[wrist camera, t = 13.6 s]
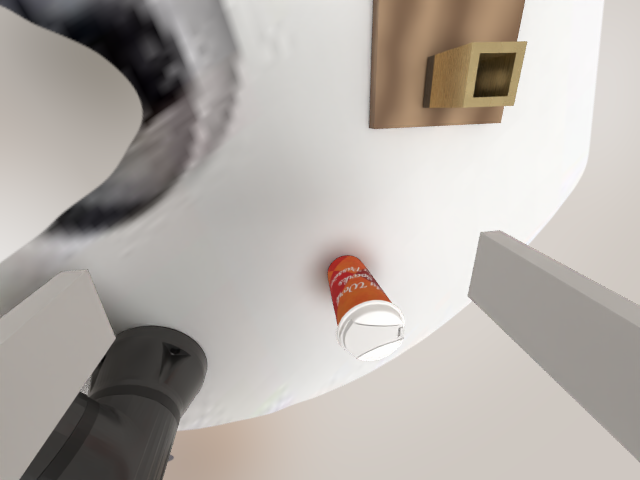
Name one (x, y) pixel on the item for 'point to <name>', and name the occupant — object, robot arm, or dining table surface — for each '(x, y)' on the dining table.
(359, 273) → the paper cup
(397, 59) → the pin board
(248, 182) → the dining table surface
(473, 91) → the sleeve
